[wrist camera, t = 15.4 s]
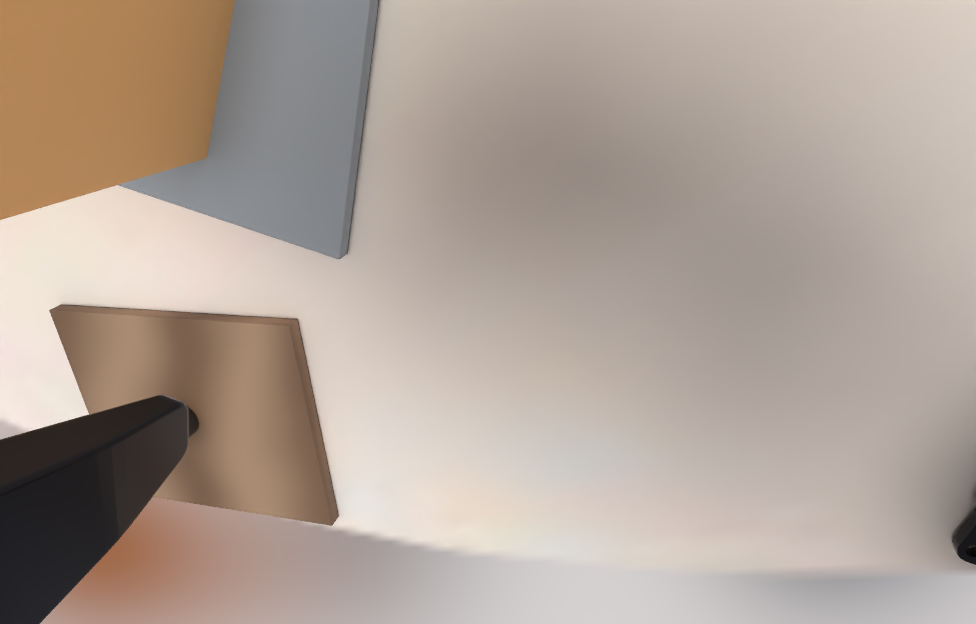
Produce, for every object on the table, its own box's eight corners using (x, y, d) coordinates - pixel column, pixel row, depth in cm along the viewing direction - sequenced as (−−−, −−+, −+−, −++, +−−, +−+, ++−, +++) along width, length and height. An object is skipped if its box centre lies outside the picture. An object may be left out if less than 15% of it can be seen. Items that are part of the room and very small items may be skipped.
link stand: (297, 319, 25) (233, 370, 21) (338, 516, 29) (290, 586, 25) (61, 304, 28) (-30, 346, 25) (127, 483, 32) (58, 542, 29)
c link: (244, -54, 19) (-98, -109, 11) (206, 158, 22) (-75, 242, 14) (116, -118, 19) (-317, -220, 11) (98, 101, 22) (-243, 151, 14)
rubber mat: (396, -137, 17) (387, -142, 17) (346, 253, 23) (339, 259, 22) (-23, -236, 19) (-42, -243, 19) (26, 146, 25) (12, 149, 24)
